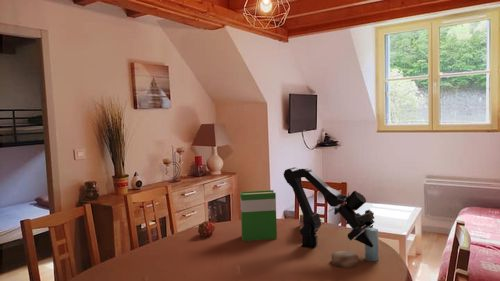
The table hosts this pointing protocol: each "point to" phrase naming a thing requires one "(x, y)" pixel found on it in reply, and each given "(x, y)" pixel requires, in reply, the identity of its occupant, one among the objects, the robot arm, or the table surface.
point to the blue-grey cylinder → (372, 253)
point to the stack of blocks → (301, 221)
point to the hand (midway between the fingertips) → (374, 244)
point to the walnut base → (344, 259)
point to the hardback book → (258, 215)
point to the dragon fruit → (206, 229)
